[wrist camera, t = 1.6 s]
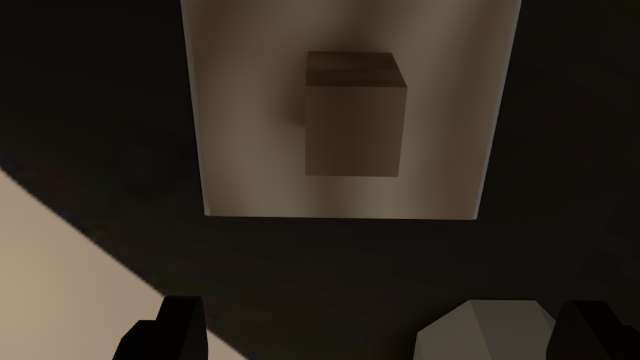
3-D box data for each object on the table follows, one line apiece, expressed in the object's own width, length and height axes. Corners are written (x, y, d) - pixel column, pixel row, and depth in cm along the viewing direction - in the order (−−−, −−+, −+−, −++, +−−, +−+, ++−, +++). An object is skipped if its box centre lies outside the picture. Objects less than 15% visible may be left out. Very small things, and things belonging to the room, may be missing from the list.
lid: (525, -75, 22) (587, -67, 17) (469, 211, 29) (500, 277, 24) (182, -82, 22) (141, -75, 17) (212, 208, 29) (190, 273, 24)
